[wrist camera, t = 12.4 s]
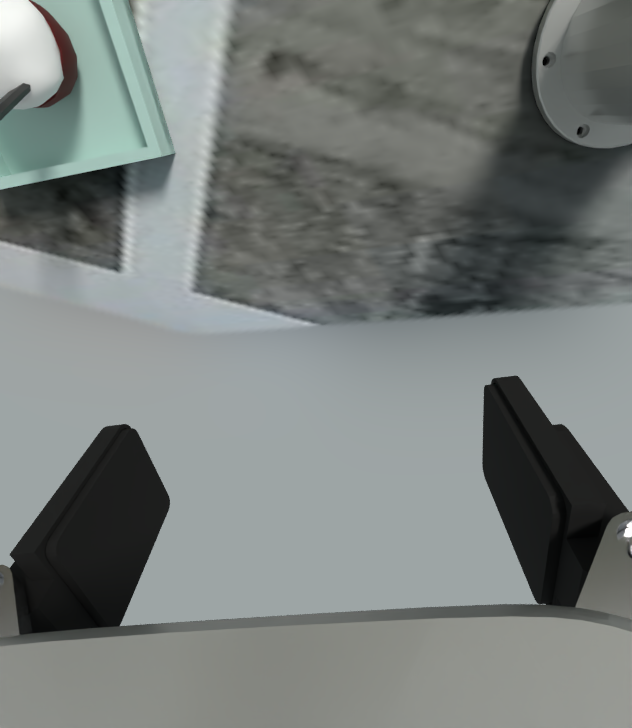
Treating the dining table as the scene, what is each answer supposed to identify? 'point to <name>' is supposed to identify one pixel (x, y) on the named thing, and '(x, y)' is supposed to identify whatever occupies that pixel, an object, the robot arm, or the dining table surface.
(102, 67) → the tray
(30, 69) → the cocoa
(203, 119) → the dining table surface
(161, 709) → the robot arm
